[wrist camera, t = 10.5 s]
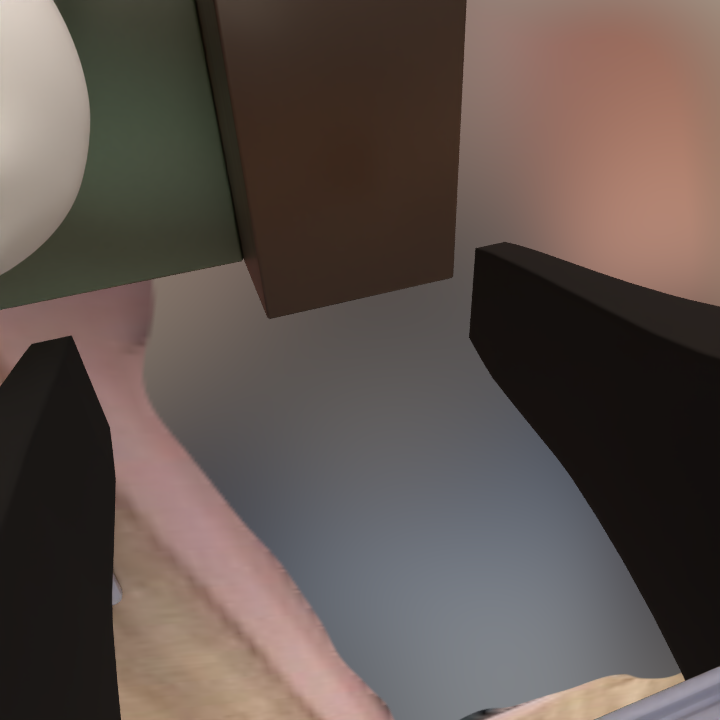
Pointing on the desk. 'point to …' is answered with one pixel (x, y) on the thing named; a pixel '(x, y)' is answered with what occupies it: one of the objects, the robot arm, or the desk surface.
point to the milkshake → (38, 125)
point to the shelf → (262, 148)
